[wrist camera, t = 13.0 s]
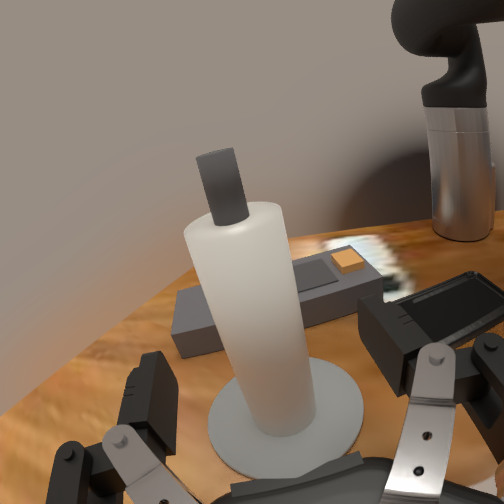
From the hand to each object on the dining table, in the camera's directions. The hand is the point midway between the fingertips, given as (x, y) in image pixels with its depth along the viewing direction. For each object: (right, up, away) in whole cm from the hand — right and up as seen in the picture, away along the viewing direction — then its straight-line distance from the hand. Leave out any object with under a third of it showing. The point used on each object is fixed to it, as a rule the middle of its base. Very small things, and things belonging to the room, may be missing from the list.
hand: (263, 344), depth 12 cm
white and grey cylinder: (+2, -7, +8) cm, 11 cm away
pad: (+2, -8, +8) cm, 11 cm away
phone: (+17, -3, +12) cm, 21 cm away
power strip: (+2, -2, +20) cm, 20 cm away
